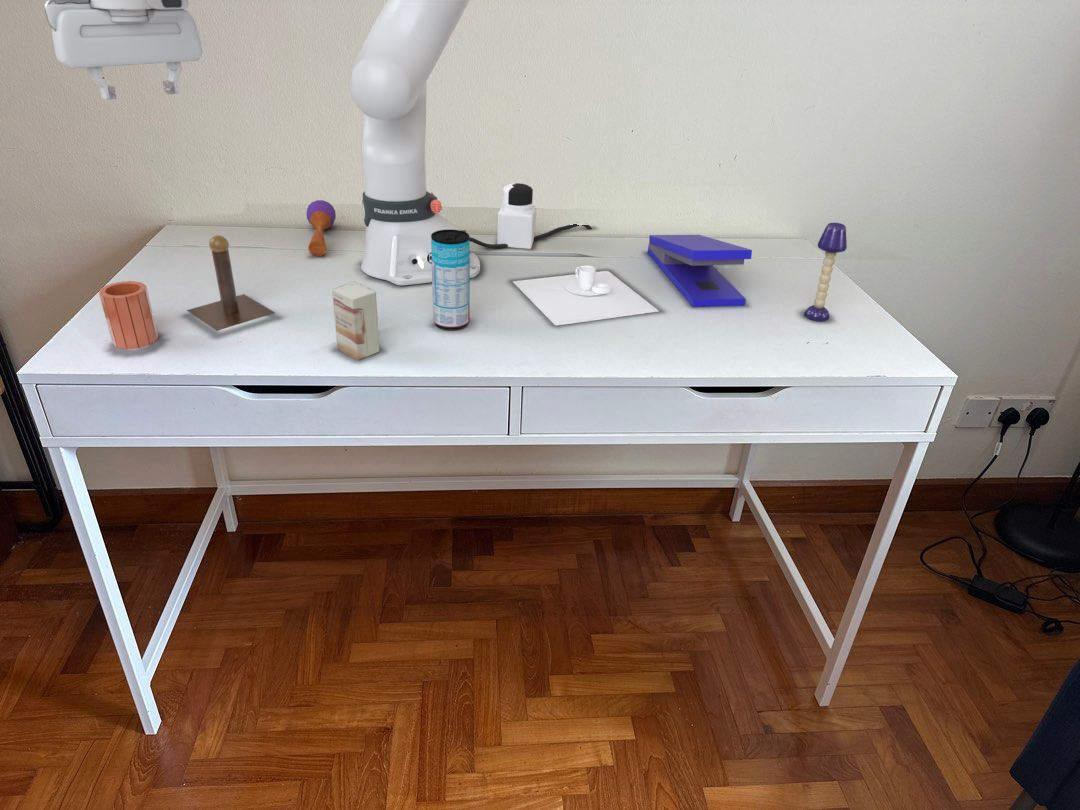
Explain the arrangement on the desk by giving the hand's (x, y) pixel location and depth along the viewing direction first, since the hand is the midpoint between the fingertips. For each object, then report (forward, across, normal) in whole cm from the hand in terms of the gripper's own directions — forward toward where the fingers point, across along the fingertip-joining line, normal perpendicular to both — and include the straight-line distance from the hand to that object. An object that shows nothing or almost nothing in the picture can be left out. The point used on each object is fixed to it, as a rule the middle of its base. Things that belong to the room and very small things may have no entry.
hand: (141, 96), depth 116 cm
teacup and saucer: (+31, +50, -50) cm, 78 cm away
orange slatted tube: (+31, -15, -18) cm, 39 cm away
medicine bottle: (+31, +61, -22) cm, 72 cm away
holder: (+31, 0, -18) cm, 36 cm away
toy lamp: (+31, +75, -83) cm, 116 cm away
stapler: (+31, +74, -58) cm, 99 cm away
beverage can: (+31, +25, -43) cm, 59 cm away
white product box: (+31, +8, -41) cm, 52 cm away
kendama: (+31, +31, +5) cm, 45 cm away
